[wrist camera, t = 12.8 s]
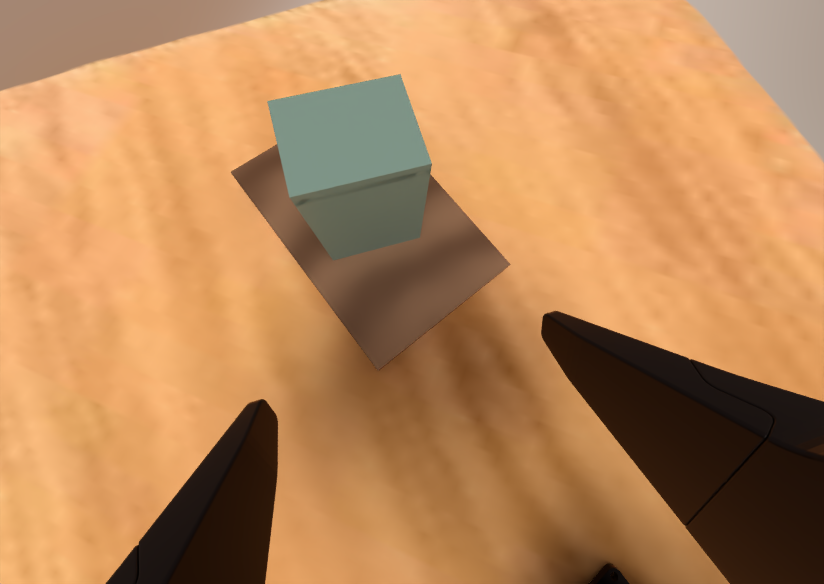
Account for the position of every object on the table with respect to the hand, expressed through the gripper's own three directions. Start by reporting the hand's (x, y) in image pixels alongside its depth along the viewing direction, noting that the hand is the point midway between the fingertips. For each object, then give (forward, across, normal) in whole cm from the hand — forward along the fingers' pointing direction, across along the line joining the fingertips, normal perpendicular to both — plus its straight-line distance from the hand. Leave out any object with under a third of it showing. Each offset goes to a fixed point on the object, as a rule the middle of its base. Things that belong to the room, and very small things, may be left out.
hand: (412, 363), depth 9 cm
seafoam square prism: (+17, 0, 0) cm, 17 cm away
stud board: (+18, 0, +1) cm, 18 cm away
